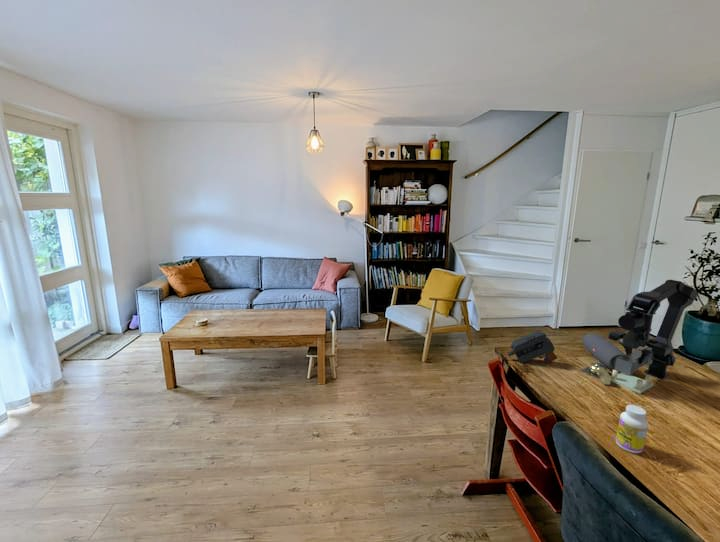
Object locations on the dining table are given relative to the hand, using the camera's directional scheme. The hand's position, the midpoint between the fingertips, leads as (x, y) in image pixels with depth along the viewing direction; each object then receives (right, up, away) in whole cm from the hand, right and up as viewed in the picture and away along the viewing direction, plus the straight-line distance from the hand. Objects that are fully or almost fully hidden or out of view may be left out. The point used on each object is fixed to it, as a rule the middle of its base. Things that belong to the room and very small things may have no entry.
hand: (634, 361), depth 135 cm
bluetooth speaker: (+1, -6, +20) cm, 20 cm away
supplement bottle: (-28, -17, -32) cm, 46 cm away
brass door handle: (-9, -8, +6) cm, 14 cm away
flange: (-8, -7, +10) cm, 15 cm away
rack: (0, -9, +2) cm, 9 cm away
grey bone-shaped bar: (0, -2, 0) cm, 2 cm away
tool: (-31, -5, +21) cm, 38 cm away
